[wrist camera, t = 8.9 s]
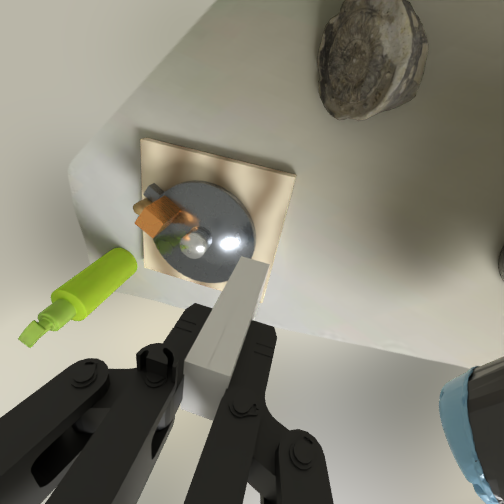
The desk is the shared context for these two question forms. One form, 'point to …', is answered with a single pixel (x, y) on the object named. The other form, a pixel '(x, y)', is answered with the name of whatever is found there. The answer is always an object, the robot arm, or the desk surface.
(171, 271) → the post base
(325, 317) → the desk surface
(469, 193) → the desk surface
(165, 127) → the desk surface
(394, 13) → the fossil
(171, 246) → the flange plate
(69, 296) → the soap dispenser
